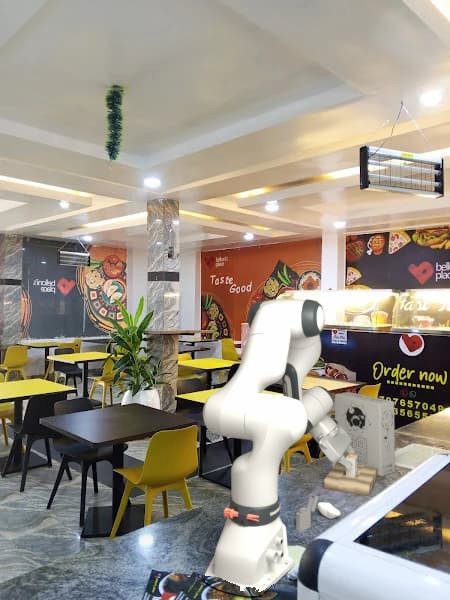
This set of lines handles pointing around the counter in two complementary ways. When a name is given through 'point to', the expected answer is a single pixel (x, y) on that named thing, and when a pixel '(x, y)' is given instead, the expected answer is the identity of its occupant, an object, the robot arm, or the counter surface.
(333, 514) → the dumpling
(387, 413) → the cereal box
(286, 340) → the robot arm
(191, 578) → the counter surface
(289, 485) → the counter surface
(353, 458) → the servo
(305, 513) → the lighter
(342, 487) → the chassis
